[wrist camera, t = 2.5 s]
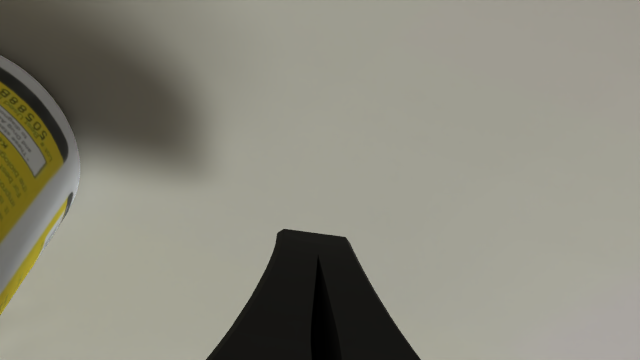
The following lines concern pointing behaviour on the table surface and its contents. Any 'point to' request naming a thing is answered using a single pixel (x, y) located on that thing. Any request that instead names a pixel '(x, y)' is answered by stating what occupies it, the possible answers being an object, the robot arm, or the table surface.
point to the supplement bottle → (31, 173)
